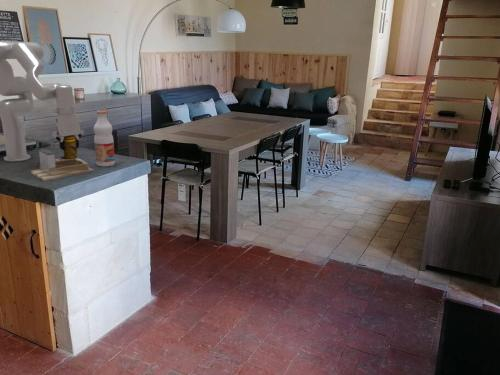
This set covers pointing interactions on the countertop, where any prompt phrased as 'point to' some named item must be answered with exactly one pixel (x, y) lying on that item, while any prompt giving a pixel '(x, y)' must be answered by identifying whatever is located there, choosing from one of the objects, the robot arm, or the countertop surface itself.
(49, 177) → the wooden tray
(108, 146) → the fruit juice
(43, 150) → the grey flat block
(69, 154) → the condiment
